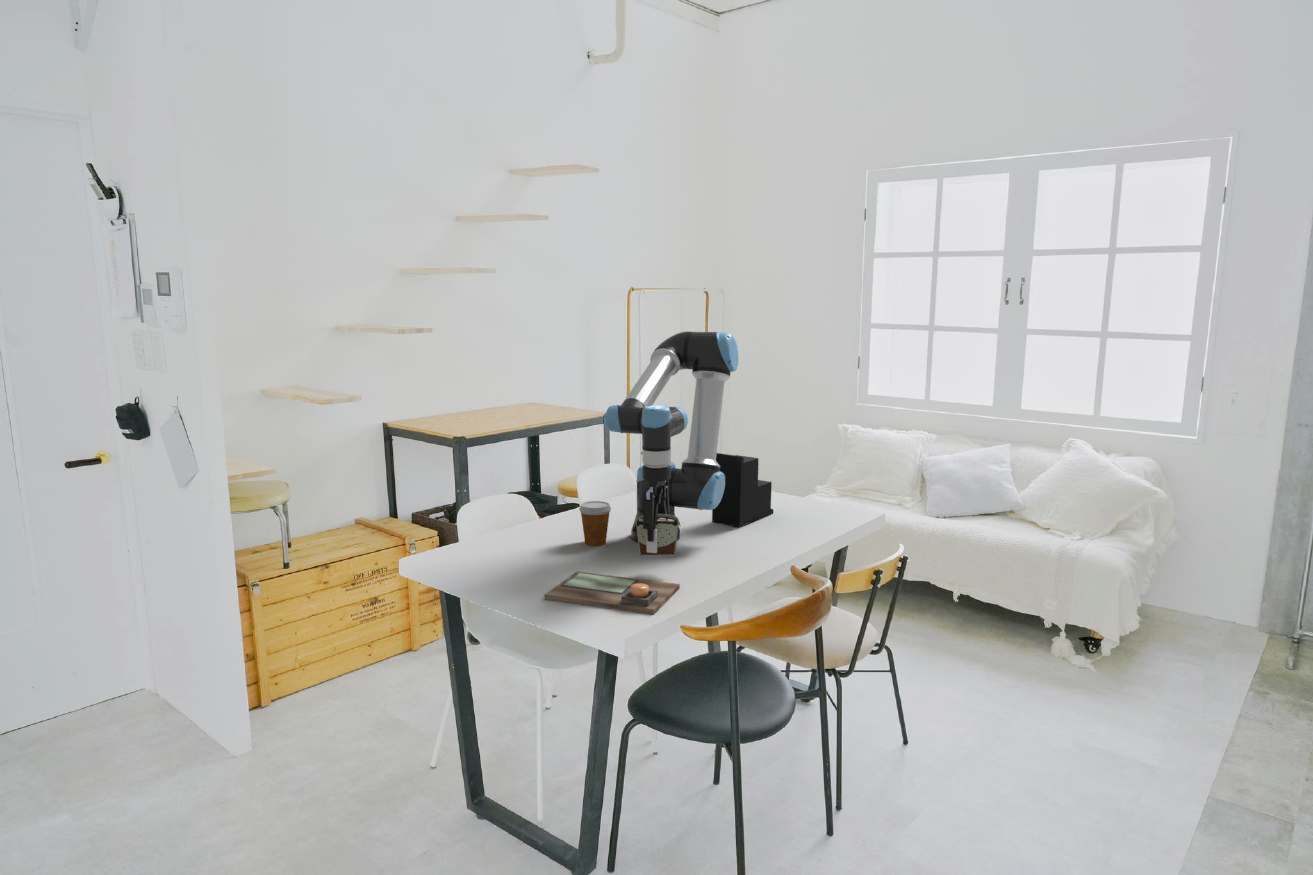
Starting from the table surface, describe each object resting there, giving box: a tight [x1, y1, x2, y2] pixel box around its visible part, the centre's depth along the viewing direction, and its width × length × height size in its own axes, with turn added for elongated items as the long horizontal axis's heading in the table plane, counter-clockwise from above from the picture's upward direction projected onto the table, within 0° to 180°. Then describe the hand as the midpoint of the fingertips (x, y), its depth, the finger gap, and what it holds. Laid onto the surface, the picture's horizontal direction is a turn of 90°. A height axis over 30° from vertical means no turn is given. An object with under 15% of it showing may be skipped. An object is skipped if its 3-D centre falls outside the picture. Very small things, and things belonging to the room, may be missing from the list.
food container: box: [634, 514, 681, 557], centre depth 235 cm, size 12×6×10 cm, turn 91°
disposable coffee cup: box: [578, 500, 612, 547], centre depth 263 cm, size 10×10×12 cm
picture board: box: [544, 570, 681, 615], centre depth 221 cm, size 19×29×3 cm, turn 70°
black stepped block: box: [711, 452, 774, 528], centre depth 291 cm, size 23×11×24 cm, turn 144°
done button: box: [631, 583, 649, 597], centre depth 213 cm, size 4×4×2 cm
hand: (656, 547), depth 235 cm, fingers closed on food container, 7 cm apart
